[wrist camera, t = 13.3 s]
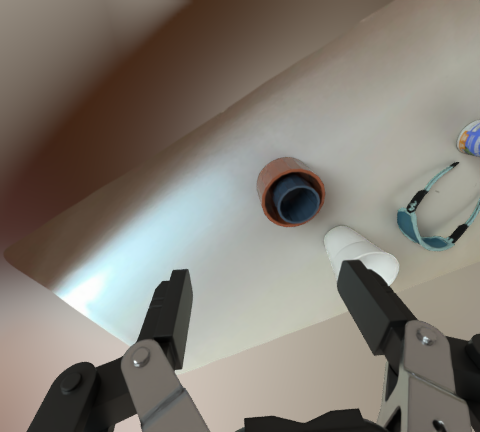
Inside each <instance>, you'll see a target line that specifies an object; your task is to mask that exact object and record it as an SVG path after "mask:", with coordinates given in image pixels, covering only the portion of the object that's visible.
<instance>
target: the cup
mask: <svg viewBox="0 0 480 432" xmlns="http://www.w3.org/2000/svg"><path fill="white" fill-rule="evenodd" d="M324 245H325V248H326V251H327V253H328V257H329V260H330V262H331V265H332V268H333V271H334V274H335V277H336V280H338V276H339V272H340V268H341V264H342V261H344V260H356V259H358V260H360V261H361V262H362V263H363V264H364V265H365V267H366V268H367V269H372V270H373V271H375V272H376V273H377V274H379V275H380V276H381V277H382V278H383V279H384V280H385V281H386V283H387V284H388V286H390V285H391V284H392V283H393V281H394V280H395V279H396V277H397V275H398V272H399V263H398V261H397V259H396V258H395V257H394V256H393V255H392V254H390V253H387V252H385V251H383V250H382V249H380V248H379V247H378V246H376V245H375V244H373V243H372V242H370V241H369V240H367V239H366V238H364V237H363V236H361V235H360V234H359V233H357V232H356V231H354V230H353V229H351V228H350V227H348V226H338V227H335V228H333V229H331V230H330V231H329V232H328V233H327V234H326V236H325V238H324Z"/></svg>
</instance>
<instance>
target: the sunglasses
mask: <svg viewBox="0 0 480 432" xmlns="http://www.w3.org/2000/svg"><path fill="white" fill-rule="evenodd" d="M457 164H459V162H455V163H453V164H452V165H450V166H449V167H447V168H446V169H444V170H443V171H441V172H440V173H438V174H437V175H436V176H435V177H434V178H433V179H432V180H431V181H430V182H429V183H428V184H427V186H426V187H425V189H424V190H421V191H418V193H417V194H416V195H415V196H414V197H413V199H412V200H411V202H410V203H409V204H408V206H407V208H400V209H399V210H398V213H397V223H398V225H399V228H400V230H401V231H402V233H403V234H404V235H405V236H406V237H408V238H409V239H410V240H411V241H413V242H414V243H419V244H420V245H422V246H423V247H424V248H425V249H427V250H429V251H430V250H432V251H443V250H447V249H449V248H451V247H453V246H454V245H455V244H454V243H455V242H456V241H457V240H458V239H459V238H460V236H461V235H462V234H463V233H464V232H465V231H466V229H467V228H468V227H469V226H470V225H471V224H472V222H473V221H474V219H475V218H476V216H477V214H478V212H479V211H480V199H479V201H478V204H477V206H476V208H475V210H474V212H473V213H472V215H471V217H470V218H469V219H468V220H467V221H466V223H465V224H462V225H459V226H458V228H457V229H456V230H455V231H454V232H453V233H452V235H451V236H449V237H447V238H446V239H445V238H443V237H441V236H433V237H420V234H419V231H418V228H417V218H416V215H415V213H414V212H415V211H416V208H417V206H418V205H419V203H420V202H421V200H422V199H423V197H424V196H425V195H426V194H427V193H428V192H429V190H430V188H431V186H432V185H433V184H434V183H435V182H436V181H437V180H438V179H439V178H440V177H441V176H442V175H443V174H445V173H446V172H447V171H449V170H450V169H452V168H454V167H455V166H456V165H457ZM406 212H407V213H406ZM410 215H411V216H410ZM444 241H445V242H446V243H445V242H444Z"/></svg>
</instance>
